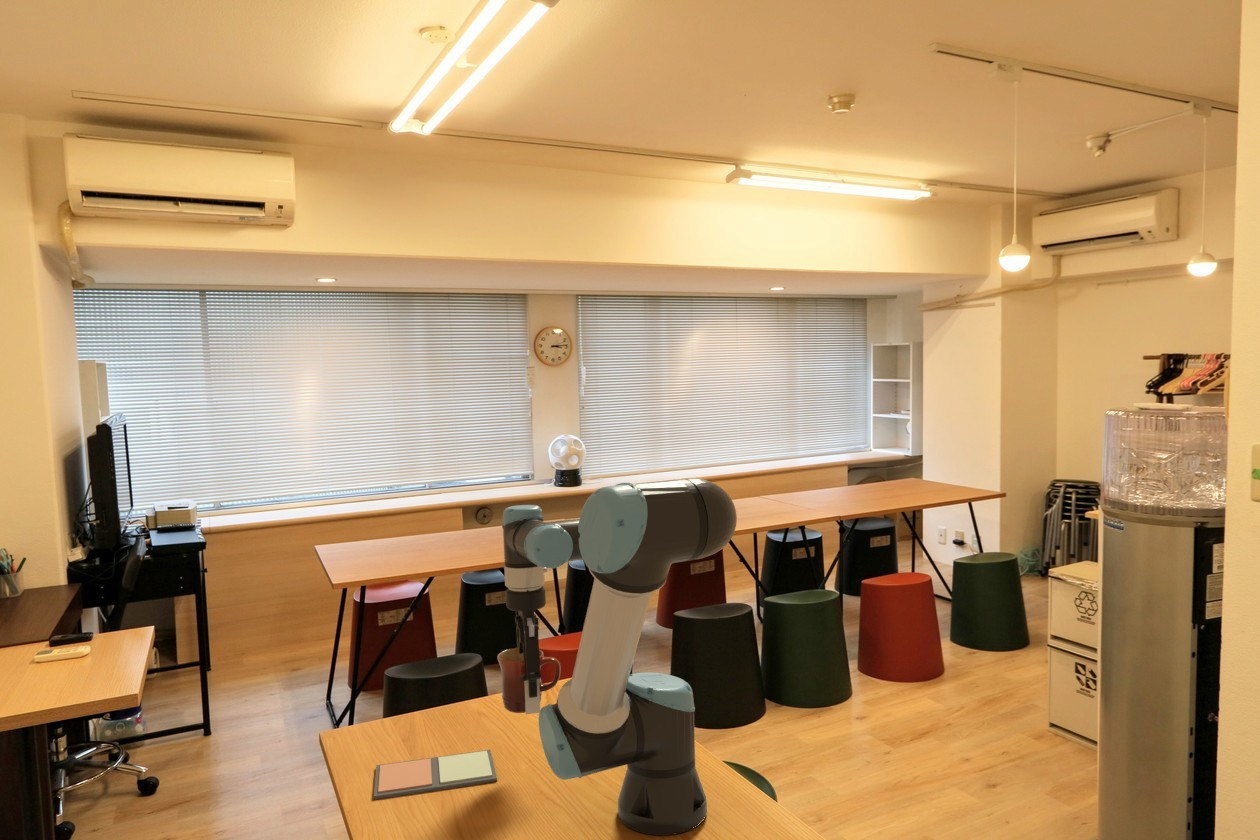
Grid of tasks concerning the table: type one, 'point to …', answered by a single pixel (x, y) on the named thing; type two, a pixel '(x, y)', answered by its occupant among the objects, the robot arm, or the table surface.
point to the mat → (434, 774)
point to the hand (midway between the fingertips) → (529, 705)
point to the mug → (512, 675)
